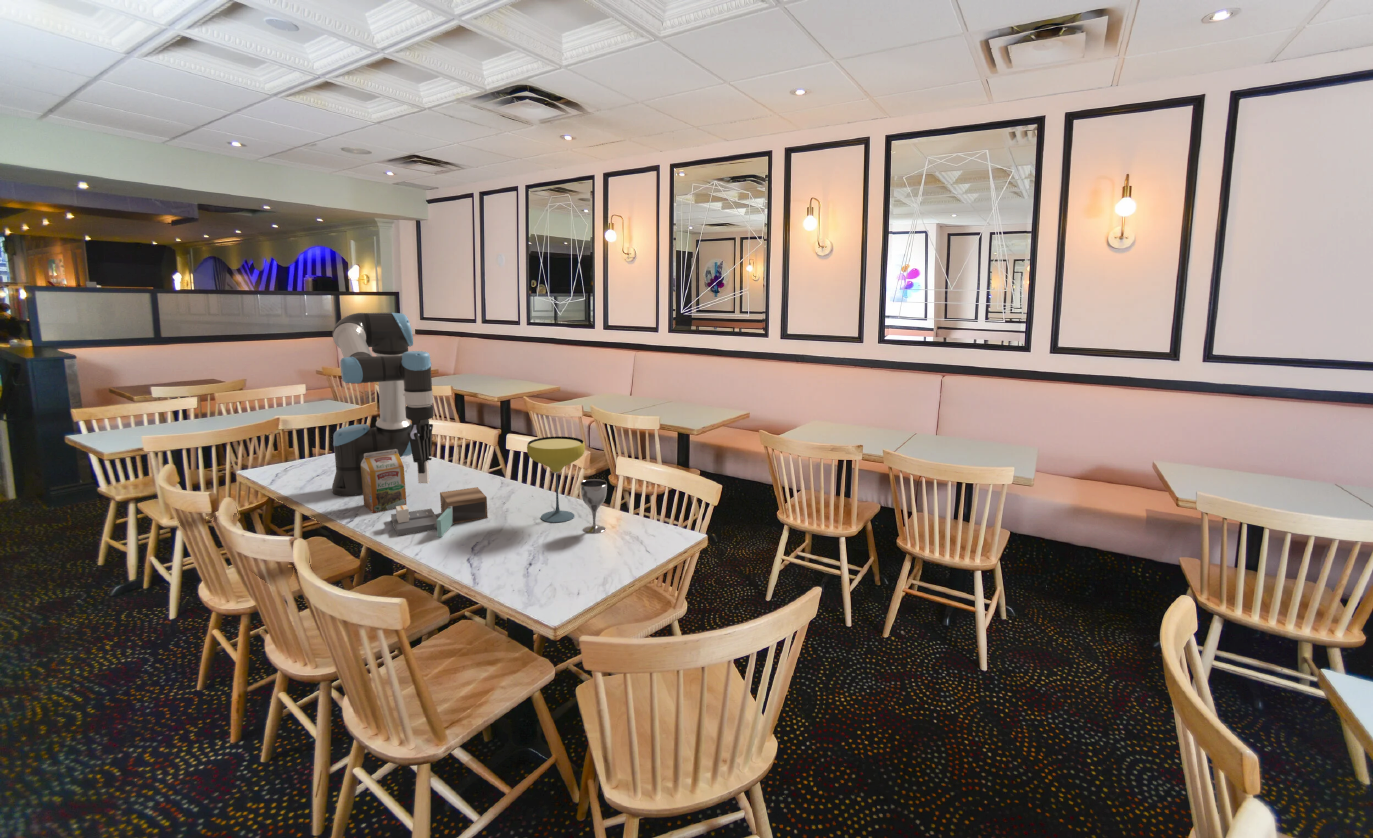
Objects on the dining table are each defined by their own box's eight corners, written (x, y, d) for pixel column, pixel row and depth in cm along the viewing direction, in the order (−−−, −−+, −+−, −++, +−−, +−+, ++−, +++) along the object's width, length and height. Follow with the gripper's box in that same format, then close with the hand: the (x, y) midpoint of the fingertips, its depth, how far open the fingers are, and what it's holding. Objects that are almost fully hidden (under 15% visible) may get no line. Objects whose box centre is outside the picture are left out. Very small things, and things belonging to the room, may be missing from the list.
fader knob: (396, 518, 195) (395, 505, 194) (407, 517, 196) (406, 504, 195) (398, 523, 191) (397, 510, 190) (409, 521, 192) (408, 508, 192)
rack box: (441, 512, 207) (440, 492, 205) (478, 506, 213) (477, 487, 211) (448, 524, 197) (447, 502, 195) (487, 517, 203) (486, 497, 201)
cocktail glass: (596, 513, 209) (595, 439, 204) (564, 530, 193) (562, 451, 188) (552, 504, 217) (550, 434, 212) (517, 521, 200) (514, 444, 196)
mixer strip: (391, 520, 199) (390, 514, 198) (431, 514, 205) (431, 508, 205) (397, 536, 186) (397, 529, 186) (440, 528, 193) (440, 522, 192)
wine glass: (611, 526, 197) (611, 480, 194) (600, 535, 190) (599, 488, 187) (588, 523, 199) (588, 478, 197) (576, 532, 192) (575, 485, 189)
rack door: (453, 523, 197) (452, 506, 196) (442, 537, 185) (440, 519, 184) (445, 523, 197) (444, 506, 196) (433, 537, 185) (432, 519, 184)
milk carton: (373, 513, 205) (368, 457, 201) (364, 505, 213) (359, 450, 209) (406, 506, 212) (402, 452, 208) (396, 498, 220) (392, 446, 216)
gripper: (415, 400, 189) (420, 475, 193) (396, 408, 176) (402, 489, 181) (440, 401, 189) (444, 476, 194) (423, 409, 176) (428, 489, 181)
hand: (424, 482), depth 187 cm, fingers closed
